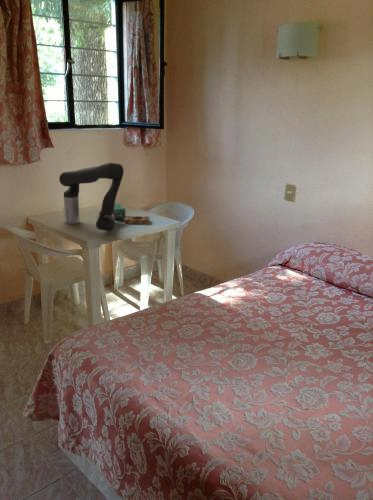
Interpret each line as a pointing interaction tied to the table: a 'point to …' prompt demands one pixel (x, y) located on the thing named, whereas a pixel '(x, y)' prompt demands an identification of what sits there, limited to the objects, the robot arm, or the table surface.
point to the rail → (137, 220)
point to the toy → (118, 207)
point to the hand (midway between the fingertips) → (111, 211)
